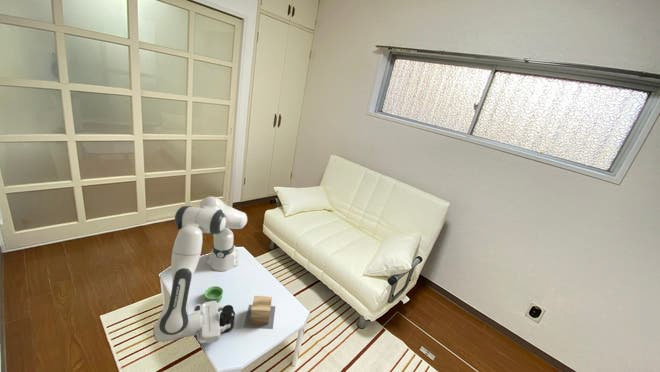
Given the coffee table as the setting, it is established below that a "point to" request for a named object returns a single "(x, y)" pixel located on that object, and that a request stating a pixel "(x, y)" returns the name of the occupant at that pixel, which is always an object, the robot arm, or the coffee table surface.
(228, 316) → the supplement bottle
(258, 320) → the tower base
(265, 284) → the coffee table surface
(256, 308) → the tower top
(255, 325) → the mat
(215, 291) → the ramekin
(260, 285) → the coffee table surface
